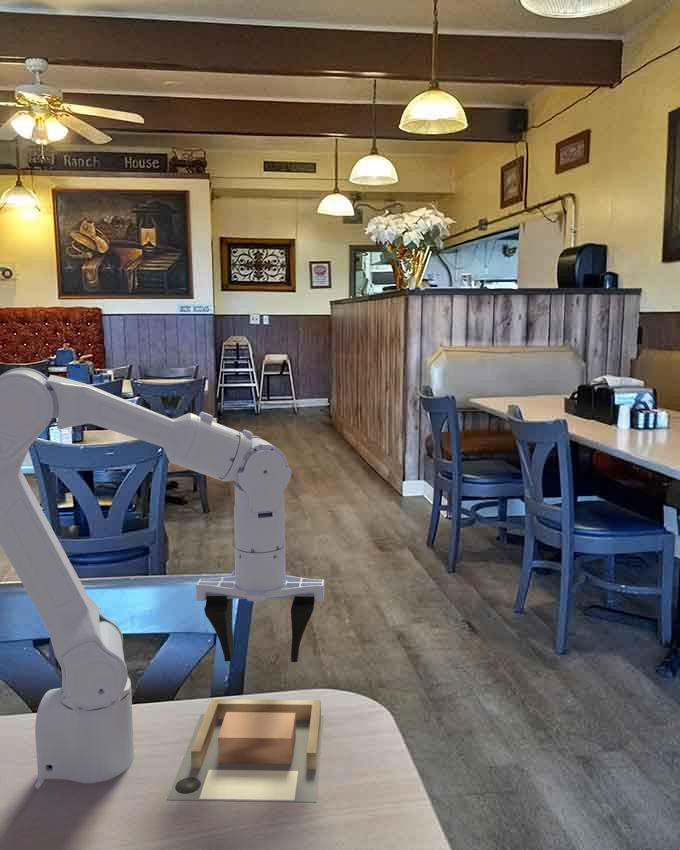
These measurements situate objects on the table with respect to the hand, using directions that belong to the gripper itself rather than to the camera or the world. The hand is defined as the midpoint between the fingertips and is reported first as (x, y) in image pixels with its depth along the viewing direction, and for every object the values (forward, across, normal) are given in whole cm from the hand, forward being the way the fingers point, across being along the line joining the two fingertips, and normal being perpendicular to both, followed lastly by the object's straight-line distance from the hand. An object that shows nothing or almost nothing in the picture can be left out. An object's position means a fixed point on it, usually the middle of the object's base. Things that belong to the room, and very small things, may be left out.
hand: (262, 657), depth 81 cm
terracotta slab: (+9, 0, -4) cm, 10 cm away
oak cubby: (+9, 0, -2) cm, 9 cm away
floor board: (+9, 0, -5) cm, 11 cm away
